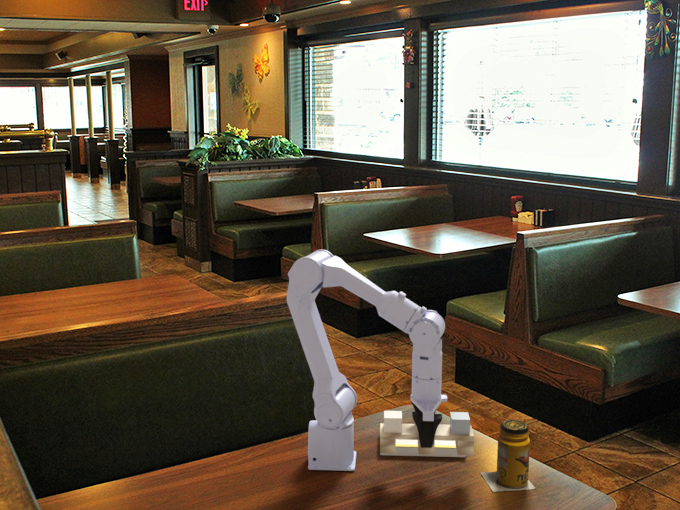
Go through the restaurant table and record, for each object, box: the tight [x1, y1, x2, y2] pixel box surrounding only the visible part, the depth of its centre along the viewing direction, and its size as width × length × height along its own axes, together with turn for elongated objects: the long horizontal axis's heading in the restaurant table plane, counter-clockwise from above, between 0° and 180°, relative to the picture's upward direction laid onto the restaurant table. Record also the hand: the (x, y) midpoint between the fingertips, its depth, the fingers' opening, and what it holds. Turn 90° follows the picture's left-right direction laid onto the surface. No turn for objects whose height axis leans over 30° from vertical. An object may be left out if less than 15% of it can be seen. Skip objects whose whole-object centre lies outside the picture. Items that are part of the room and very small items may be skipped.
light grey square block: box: [449, 411, 471, 434], centre depth 136 cm, size 4×4×3 cm
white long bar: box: [379, 422, 475, 456], centre depth 137 cm, size 18×5×4 cm, turn 86°
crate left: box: [383, 410, 403, 433], centre depth 137 cm, size 4×4×3 cm
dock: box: [379, 439, 467, 458], centre depth 152 cm, size 18×10×2 cm, turn 86°
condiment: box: [480, 419, 536, 493], centre depth 136 cm, size 7×8×12 cm
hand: (425, 440), depth 137 cm, fingers closed on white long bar, 5 cm apart
